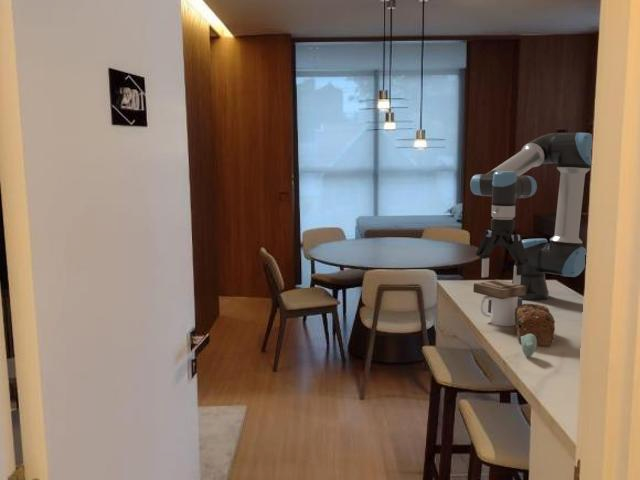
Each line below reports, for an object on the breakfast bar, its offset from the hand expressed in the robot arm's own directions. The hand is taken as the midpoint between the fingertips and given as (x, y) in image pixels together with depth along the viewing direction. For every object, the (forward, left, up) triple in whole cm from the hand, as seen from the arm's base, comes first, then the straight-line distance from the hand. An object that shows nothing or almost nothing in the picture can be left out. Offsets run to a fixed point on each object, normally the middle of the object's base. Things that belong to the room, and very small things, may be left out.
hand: (500, 280), depth 204 cm
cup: (0, 0, -15) cm, 15 cm away
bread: (+4, +17, -15) cm, 23 cm away
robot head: (+20, +29, -15) cm, 38 cm away
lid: (0, 0, -4) cm, 4 cm away
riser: (-13, -8, -14) cm, 21 cm away
